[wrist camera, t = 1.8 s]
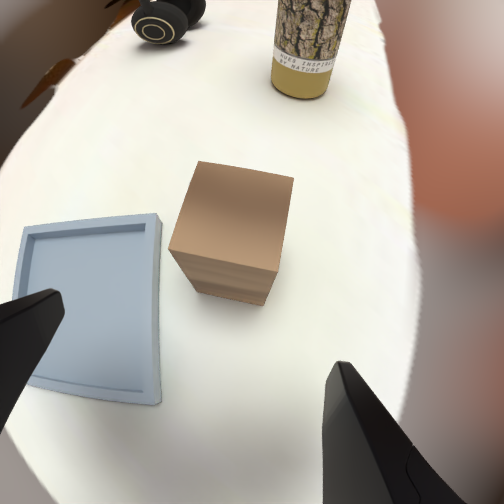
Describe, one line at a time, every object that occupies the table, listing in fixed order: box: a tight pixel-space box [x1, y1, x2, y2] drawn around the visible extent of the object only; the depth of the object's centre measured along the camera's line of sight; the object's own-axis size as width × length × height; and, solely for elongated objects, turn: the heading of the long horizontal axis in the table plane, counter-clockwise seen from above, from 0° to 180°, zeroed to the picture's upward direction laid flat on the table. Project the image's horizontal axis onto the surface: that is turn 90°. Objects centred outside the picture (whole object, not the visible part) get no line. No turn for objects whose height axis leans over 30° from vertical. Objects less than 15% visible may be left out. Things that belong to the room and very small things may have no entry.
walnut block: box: [168, 161, 294, 306], centre depth 18 cm, size 5×5×9 cm
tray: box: [12, 213, 162, 405], centre depth 19 cm, size 14×14×2 cm
